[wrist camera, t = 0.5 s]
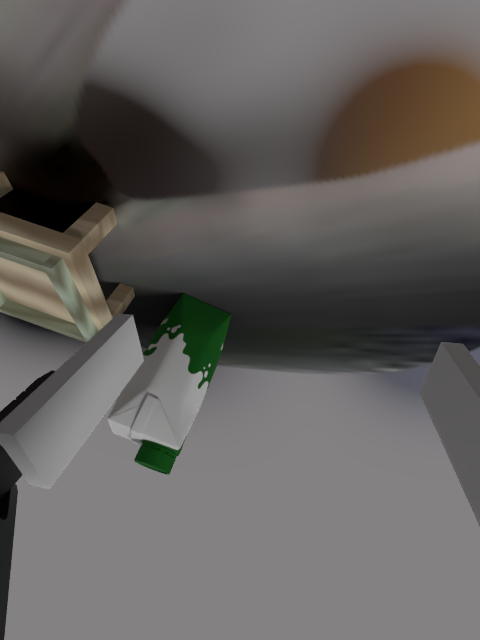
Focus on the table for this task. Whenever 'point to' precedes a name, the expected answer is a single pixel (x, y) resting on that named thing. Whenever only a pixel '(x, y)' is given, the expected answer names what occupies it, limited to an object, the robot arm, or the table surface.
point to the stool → (57, 273)
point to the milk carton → (171, 382)
